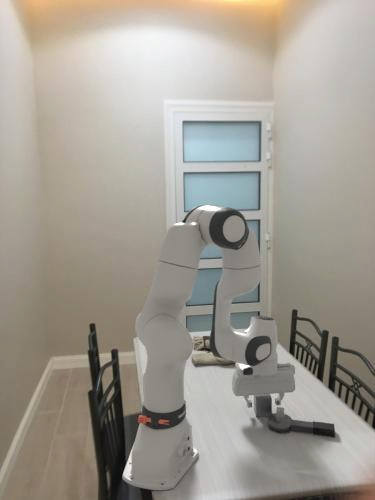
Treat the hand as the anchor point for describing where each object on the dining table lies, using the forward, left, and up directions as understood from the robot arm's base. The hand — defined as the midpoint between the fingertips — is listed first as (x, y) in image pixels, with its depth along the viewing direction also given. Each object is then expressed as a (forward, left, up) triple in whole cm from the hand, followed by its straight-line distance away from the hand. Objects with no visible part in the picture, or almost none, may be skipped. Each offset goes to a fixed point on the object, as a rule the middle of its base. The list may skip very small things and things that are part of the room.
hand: (263, 405), depth 131 cm
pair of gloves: (+48, +24, -3) cm, 54 cm away
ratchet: (-7, -12, -3) cm, 14 cm away
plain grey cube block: (0, 0, -3) cm, 3 cm away
